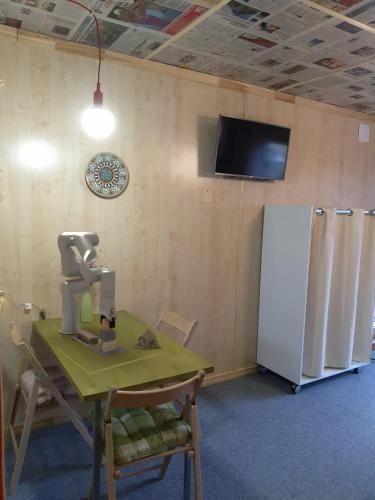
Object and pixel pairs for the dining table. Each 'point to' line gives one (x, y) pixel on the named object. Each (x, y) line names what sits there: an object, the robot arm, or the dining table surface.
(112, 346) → the birch block
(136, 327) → the dining table surface
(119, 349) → the slate mat
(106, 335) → the charcoal block
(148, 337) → the stuffed bread roll
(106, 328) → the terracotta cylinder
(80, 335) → the packaged product
